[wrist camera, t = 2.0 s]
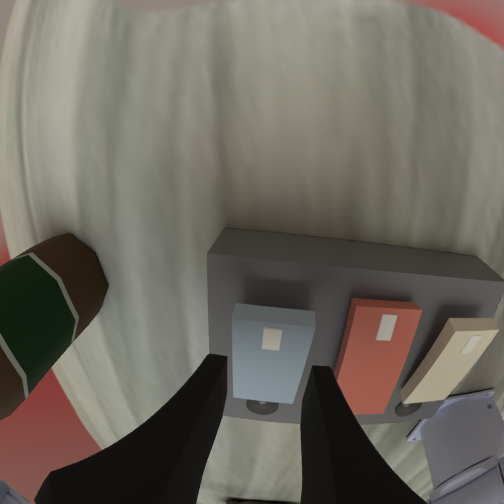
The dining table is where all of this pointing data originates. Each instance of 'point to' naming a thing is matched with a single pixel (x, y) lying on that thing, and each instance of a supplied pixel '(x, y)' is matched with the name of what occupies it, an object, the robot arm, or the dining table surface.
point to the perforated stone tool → (250, 502)
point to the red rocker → (374, 351)
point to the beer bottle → (44, 311)
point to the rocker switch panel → (340, 302)
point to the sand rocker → (449, 359)
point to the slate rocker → (269, 351)
